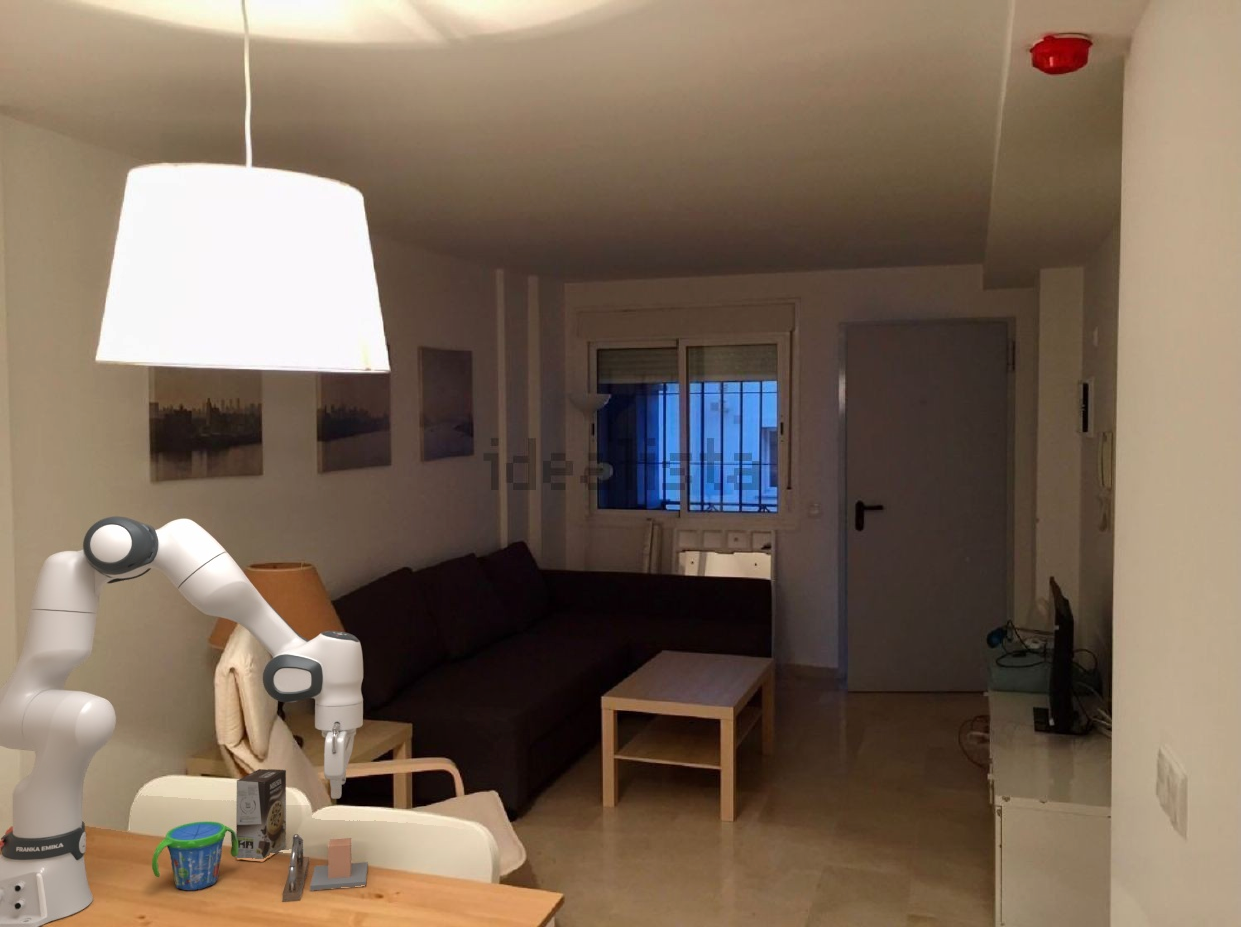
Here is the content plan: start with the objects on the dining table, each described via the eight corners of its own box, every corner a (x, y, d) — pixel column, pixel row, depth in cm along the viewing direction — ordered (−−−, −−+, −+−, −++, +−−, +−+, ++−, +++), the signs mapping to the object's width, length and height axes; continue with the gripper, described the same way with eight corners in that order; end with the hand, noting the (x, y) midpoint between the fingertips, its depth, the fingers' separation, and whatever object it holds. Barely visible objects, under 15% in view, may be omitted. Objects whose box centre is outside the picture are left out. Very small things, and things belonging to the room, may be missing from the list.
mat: (310, 891, 199) (310, 885, 199) (315, 871, 208) (315, 866, 208) (365, 887, 201) (365, 881, 201) (367, 867, 210) (367, 862, 210)
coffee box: (264, 863, 213) (264, 782, 213) (235, 860, 214) (234, 780, 214) (287, 847, 222) (287, 769, 222) (259, 845, 223) (259, 767, 223)
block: (328, 878, 202) (328, 846, 202) (330, 870, 206) (330, 839, 206) (350, 876, 203) (350, 845, 203) (351, 869, 207) (351, 838, 207)
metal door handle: (282, 902, 194) (282, 851, 194) (293, 865, 212) (293, 819, 212) (299, 900, 194) (299, 850, 194) (309, 864, 212) (308, 818, 212)
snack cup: (159, 903, 194) (159, 847, 194) (145, 885, 202) (145, 831, 202) (246, 883, 203) (246, 829, 203) (230, 866, 211) (230, 814, 211)
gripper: (352, 728, 194) (351, 805, 194) (359, 706, 214) (359, 775, 214) (316, 730, 193) (315, 807, 193) (327, 707, 213) (326, 777, 213)
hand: (338, 790), depth 204 cm, fingers open, 8 cm apart
